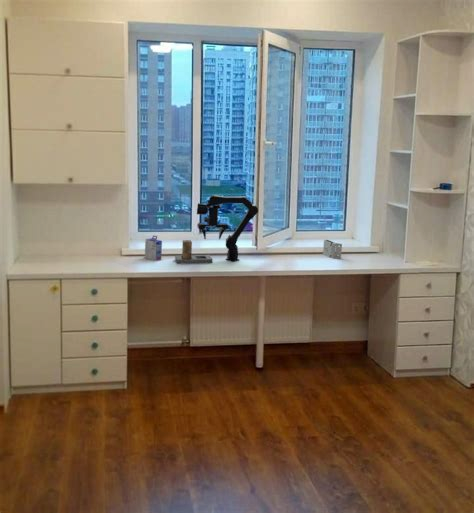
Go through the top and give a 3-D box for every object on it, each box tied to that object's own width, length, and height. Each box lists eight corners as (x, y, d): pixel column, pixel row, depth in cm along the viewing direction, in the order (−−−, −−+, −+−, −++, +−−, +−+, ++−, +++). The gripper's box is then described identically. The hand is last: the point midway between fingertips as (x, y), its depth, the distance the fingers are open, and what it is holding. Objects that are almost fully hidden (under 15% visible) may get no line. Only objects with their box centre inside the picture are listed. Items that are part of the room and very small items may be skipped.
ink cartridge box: (162, 259, 403) (162, 237, 399) (155, 261, 398) (156, 238, 394) (150, 256, 408) (151, 234, 404) (144, 258, 404) (144, 235, 400)
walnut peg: (190, 260, 404) (190, 240, 401) (191, 262, 400) (191, 242, 396) (182, 260, 403) (182, 240, 400) (183, 262, 398) (183, 242, 395)
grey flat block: (209, 259, 409) (209, 255, 409) (212, 263, 401) (212, 259, 400) (175, 259, 404) (175, 255, 403) (177, 263, 395) (177, 259, 395)
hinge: (341, 258, 428) (342, 243, 425) (335, 259, 425) (337, 244, 422) (325, 253, 438) (326, 239, 435) (320, 254, 435) (321, 240, 432)
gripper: (225, 212, 411) (223, 236, 415) (196, 212, 407) (195, 236, 411) (228, 216, 401) (227, 240, 405) (199, 216, 396) (198, 240, 401)
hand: (212, 239), depth 406 cm, fingers open, 9 cm apart
